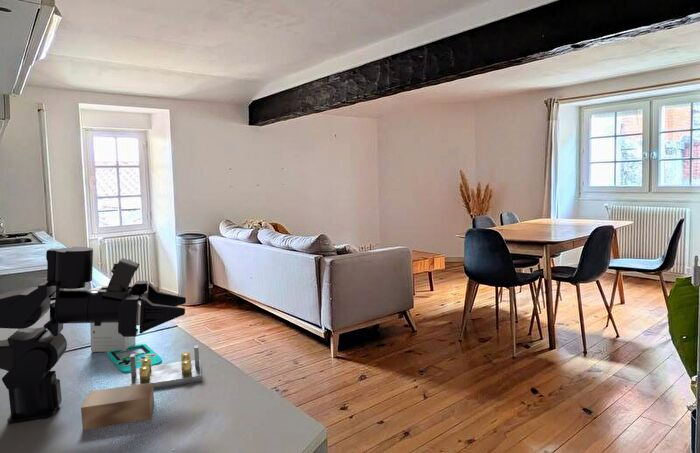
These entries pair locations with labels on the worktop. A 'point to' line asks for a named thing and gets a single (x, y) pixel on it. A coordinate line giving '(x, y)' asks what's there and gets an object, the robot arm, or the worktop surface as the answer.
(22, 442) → the worktop surface
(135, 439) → the worktop surface
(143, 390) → the tan block
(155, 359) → the handheld gaming console
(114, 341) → the skincare box
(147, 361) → the chassis
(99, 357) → the worktop surface
